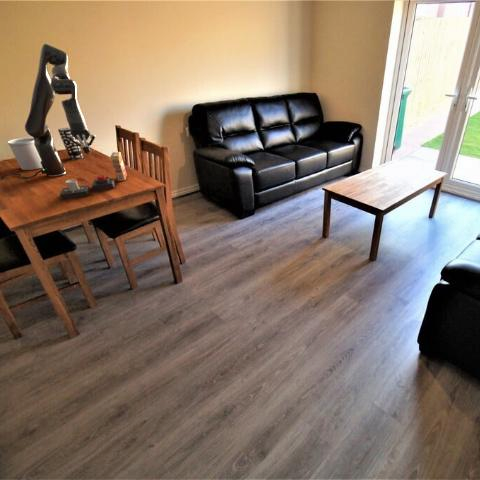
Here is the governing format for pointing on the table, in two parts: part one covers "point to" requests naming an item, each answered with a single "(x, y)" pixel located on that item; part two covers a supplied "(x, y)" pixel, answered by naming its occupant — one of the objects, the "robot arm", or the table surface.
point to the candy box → (118, 166)
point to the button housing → (103, 184)
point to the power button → (101, 177)
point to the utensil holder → (25, 153)
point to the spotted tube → (70, 144)
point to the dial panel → (75, 192)
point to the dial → (72, 185)
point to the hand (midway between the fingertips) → (87, 153)
